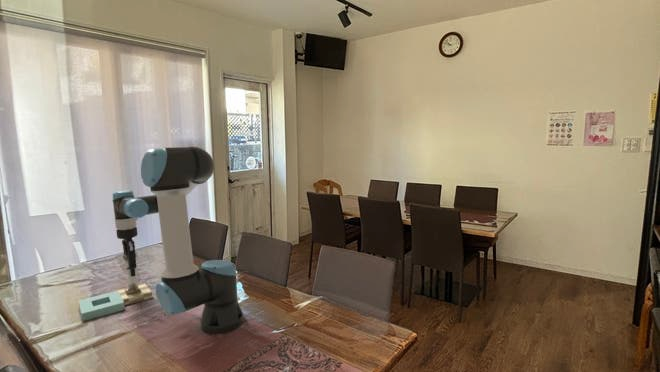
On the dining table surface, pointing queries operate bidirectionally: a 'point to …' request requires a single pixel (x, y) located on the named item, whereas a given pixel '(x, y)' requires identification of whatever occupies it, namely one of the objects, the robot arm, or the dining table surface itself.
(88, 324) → the dining table surface
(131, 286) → the pin
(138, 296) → the mount
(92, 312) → the dock
